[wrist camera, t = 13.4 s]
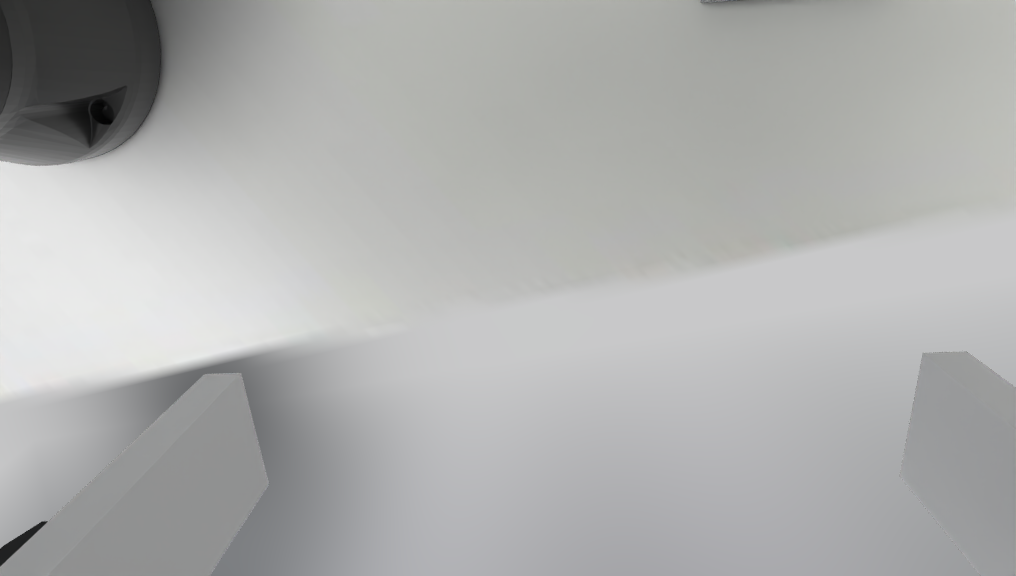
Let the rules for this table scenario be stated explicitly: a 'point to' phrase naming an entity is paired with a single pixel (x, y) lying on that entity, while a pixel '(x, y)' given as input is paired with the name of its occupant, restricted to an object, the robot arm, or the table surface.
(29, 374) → the table surface
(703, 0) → the grey slotted plate
